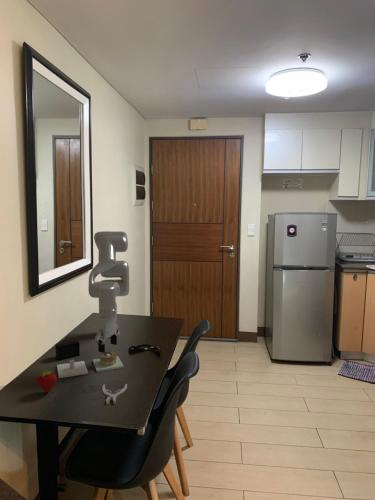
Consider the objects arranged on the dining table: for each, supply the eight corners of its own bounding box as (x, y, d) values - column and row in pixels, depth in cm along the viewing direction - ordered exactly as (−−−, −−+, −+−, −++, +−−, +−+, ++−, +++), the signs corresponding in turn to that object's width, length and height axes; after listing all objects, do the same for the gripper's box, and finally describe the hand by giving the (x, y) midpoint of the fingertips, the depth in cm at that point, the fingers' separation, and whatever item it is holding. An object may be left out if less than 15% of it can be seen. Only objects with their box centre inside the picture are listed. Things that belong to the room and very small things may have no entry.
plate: (92, 361, 175) (92, 351, 174) (118, 357, 180) (118, 347, 179) (96, 372, 164) (96, 361, 164) (123, 368, 169) (123, 357, 168)
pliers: (127, 381, 153) (124, 400, 138) (127, 385, 153) (124, 404, 139) (103, 382, 153) (97, 401, 138) (103, 385, 153) (97, 405, 138)
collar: (97, 364, 170) (97, 355, 169) (106, 358, 176) (106, 350, 176) (110, 366, 167) (110, 358, 167) (118, 361, 174) (118, 352, 173)
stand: (57, 366, 169) (56, 357, 168) (84, 362, 174) (83, 353, 173) (58, 378, 158) (58, 368, 157) (87, 373, 163) (87, 363, 162)
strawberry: (54, 396, 143) (54, 371, 142) (34, 396, 143) (34, 371, 142) (59, 388, 149) (58, 364, 148) (40, 388, 149) (39, 365, 147)
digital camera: (75, 352, 186) (75, 338, 185) (79, 355, 182) (79, 342, 181) (54, 357, 180) (54, 343, 179) (58, 360, 176) (58, 346, 175)
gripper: (111, 306, 178) (111, 340, 181) (88, 316, 163) (89, 353, 165) (124, 308, 176) (124, 342, 178) (103, 319, 160) (103, 356, 162)
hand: (107, 348), depth 172 cm, fingers open, 9 cm apart
